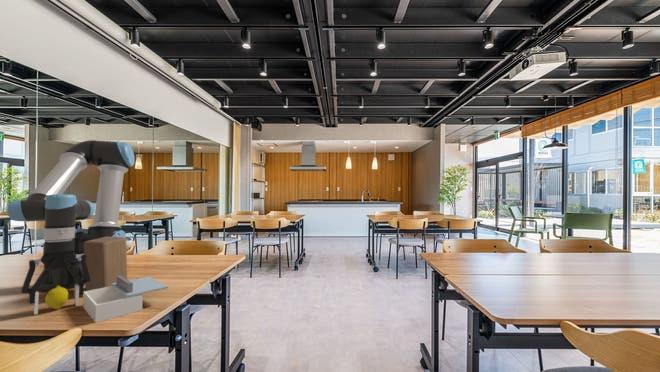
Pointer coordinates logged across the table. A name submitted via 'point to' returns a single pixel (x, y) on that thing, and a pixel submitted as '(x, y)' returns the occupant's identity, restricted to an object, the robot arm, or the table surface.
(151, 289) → the lid
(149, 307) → the table surface
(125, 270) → the wooden block
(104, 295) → the box
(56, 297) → the fruit
